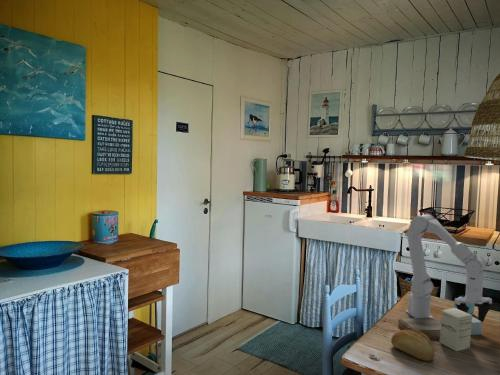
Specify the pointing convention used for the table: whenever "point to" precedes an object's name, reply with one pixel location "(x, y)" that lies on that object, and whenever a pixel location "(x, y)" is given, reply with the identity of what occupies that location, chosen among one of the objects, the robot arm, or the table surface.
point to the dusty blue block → (476, 326)
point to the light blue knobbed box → (471, 306)
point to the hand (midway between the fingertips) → (472, 321)
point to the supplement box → (455, 329)
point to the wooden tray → (422, 326)
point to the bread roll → (414, 344)
